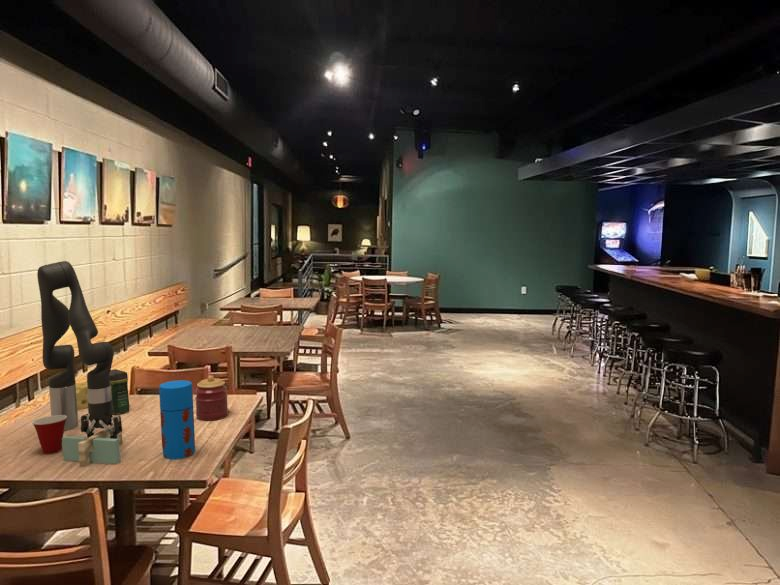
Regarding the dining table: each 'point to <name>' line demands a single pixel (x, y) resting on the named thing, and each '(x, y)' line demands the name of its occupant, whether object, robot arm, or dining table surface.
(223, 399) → the canister
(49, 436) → the plastic cup
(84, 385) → the cheese
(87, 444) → the brass bar
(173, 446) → the thermos
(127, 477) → the dining table surface
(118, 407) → the coffee jar
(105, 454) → the sage green notched block
